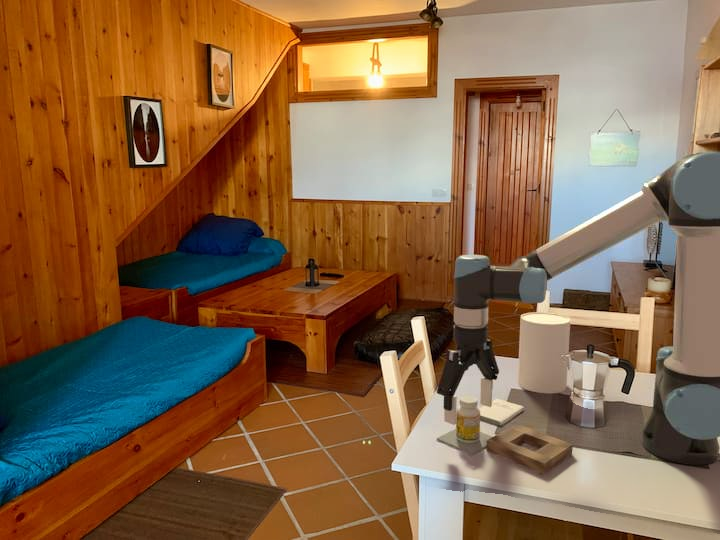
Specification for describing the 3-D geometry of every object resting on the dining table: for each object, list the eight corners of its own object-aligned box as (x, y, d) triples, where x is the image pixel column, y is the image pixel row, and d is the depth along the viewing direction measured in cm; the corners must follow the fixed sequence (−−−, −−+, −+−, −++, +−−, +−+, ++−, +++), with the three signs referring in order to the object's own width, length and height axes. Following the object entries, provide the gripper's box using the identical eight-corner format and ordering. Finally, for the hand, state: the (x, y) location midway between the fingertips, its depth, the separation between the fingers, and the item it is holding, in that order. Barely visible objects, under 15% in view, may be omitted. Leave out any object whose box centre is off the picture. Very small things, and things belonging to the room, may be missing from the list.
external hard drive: (471, 418, 144) (495, 403, 153) (500, 428, 138) (524, 411, 147) (471, 412, 143) (495, 397, 153) (501, 421, 138) (524, 406, 147)
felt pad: (498, 440, 131) (498, 438, 131) (472, 455, 124) (472, 453, 124) (462, 426, 138) (463, 425, 138) (436, 439, 131) (436, 438, 131)
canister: (573, 393, 158) (577, 324, 155) (524, 393, 158) (527, 324, 155) (557, 376, 171) (561, 312, 168) (512, 376, 172) (515, 312, 168)
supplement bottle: (480, 444, 128) (482, 404, 126) (456, 443, 129) (457, 403, 127) (477, 433, 133) (479, 395, 132) (455, 432, 134) (455, 394, 132)
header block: (572, 454, 124) (572, 444, 124) (543, 474, 116) (544, 463, 116) (516, 433, 134) (516, 423, 134) (486, 450, 126) (486, 440, 126)
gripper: (488, 311, 137) (486, 394, 141) (421, 332, 121) (420, 425, 124) (515, 317, 132) (512, 402, 136) (448, 339, 115) (447, 436, 119)
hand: (468, 413), depth 130 cm, fingers open, 13 cm apart
